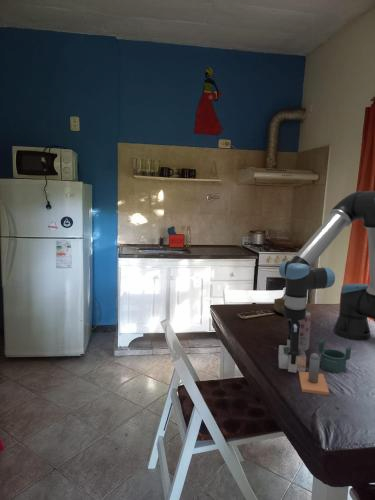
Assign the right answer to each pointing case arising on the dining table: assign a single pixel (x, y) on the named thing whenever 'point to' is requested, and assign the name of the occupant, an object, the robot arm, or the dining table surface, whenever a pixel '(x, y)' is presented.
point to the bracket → (333, 358)
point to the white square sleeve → (284, 358)
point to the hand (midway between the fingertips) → (291, 363)
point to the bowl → (279, 305)
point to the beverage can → (304, 331)
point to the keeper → (313, 378)
